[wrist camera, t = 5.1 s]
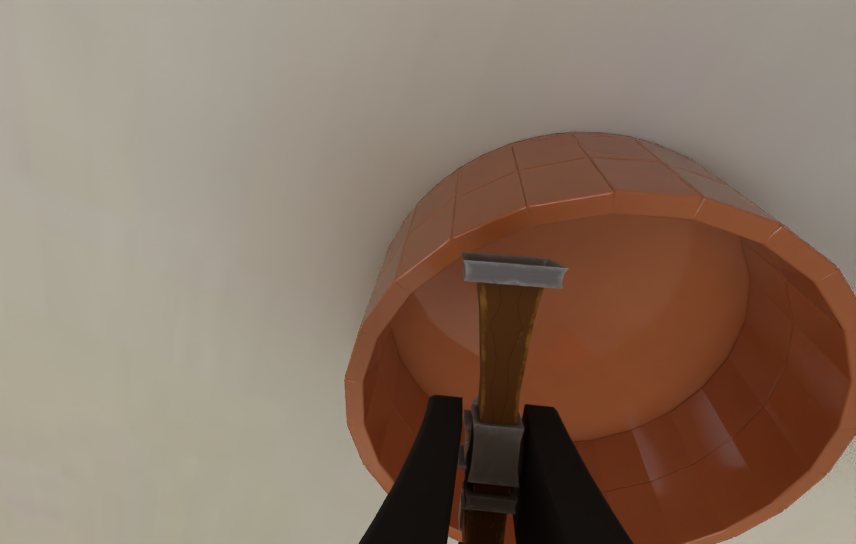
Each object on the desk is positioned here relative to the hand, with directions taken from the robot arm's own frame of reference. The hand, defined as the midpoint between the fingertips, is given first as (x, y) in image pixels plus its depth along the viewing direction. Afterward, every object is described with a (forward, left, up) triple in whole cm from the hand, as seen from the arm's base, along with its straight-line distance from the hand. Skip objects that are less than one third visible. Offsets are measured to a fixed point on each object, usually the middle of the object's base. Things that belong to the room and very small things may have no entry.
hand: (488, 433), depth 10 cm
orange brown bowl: (-3, +3, -9) cm, 10 cm away
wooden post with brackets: (0, 0, -2) cm, 2 cm away
